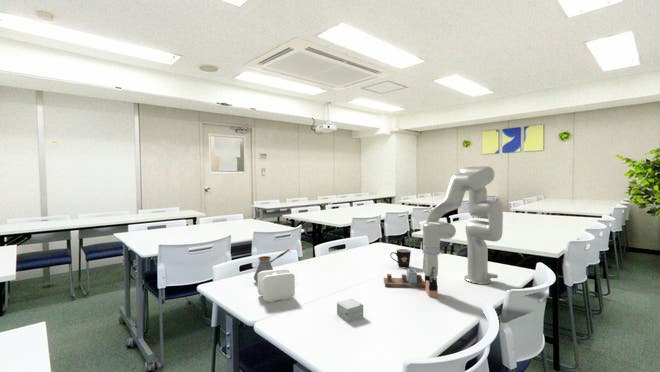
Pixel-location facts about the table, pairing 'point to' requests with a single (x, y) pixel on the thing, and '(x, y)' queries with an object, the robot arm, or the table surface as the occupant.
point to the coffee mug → (403, 257)
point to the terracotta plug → (431, 293)
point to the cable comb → (403, 282)
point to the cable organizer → (276, 284)
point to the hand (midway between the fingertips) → (430, 287)
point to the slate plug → (411, 276)
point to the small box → (350, 309)
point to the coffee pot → (266, 264)
